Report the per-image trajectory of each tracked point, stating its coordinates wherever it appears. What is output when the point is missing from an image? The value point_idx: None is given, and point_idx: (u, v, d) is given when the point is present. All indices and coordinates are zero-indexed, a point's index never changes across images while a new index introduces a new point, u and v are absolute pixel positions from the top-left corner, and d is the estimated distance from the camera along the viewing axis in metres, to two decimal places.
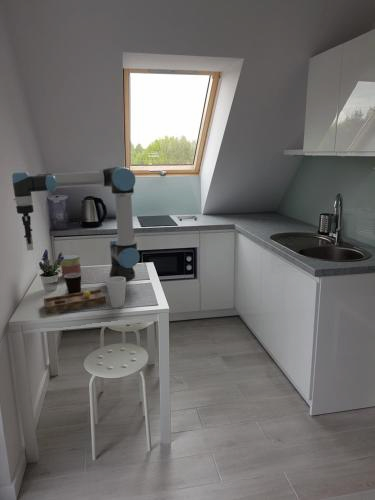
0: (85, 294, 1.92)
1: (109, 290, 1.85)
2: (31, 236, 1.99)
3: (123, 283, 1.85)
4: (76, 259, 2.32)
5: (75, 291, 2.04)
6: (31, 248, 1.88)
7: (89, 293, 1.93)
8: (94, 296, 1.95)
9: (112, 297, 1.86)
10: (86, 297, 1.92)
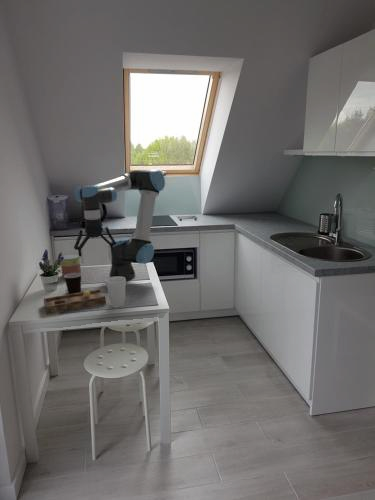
0: (85, 294, 1.92)
1: (109, 290, 1.85)
2: (109, 251, 1.92)
3: (123, 283, 1.85)
4: (76, 259, 2.32)
5: (75, 291, 2.04)
6: (82, 261, 1.89)
7: (89, 293, 1.93)
8: (94, 296, 1.95)
9: (112, 297, 1.86)
10: (86, 297, 1.92)
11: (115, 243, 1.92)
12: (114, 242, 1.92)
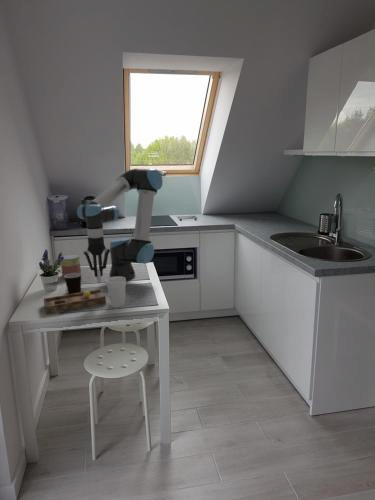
0: (85, 294, 1.92)
1: (109, 290, 1.85)
2: (99, 275, 1.92)
3: (123, 283, 1.85)
4: (76, 259, 2.32)
5: (75, 291, 2.04)
6: (97, 281, 1.93)
7: (89, 293, 1.93)
8: (94, 296, 1.95)
9: (112, 297, 1.86)
10: (86, 297, 1.92)
11: (105, 267, 1.93)
12: (105, 266, 1.93)
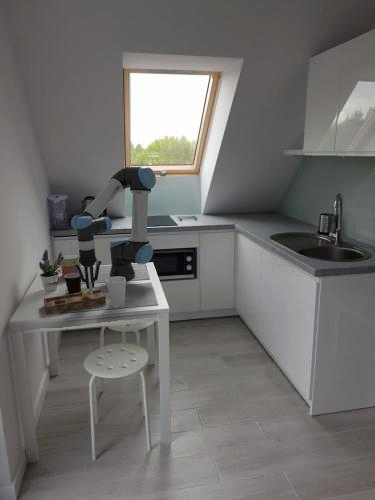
0: (84, 294, 1.92)
1: (109, 290, 1.85)
2: (90, 287, 1.92)
3: (123, 283, 1.85)
4: (76, 259, 2.32)
5: (75, 291, 2.04)
6: (89, 293, 1.93)
7: (88, 293, 1.92)
8: (94, 296, 1.95)
9: (112, 297, 1.86)
10: (86, 297, 1.92)
11: (96, 279, 1.92)
12: (96, 277, 1.92)
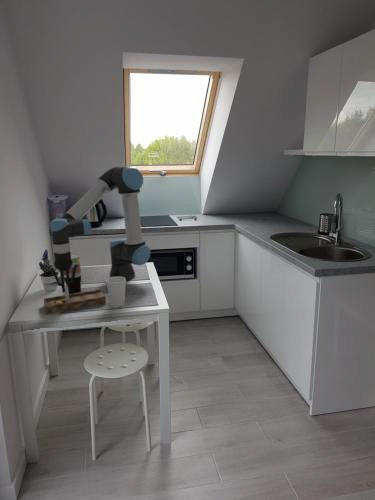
0: None
1: (109, 290, 1.85)
2: (66, 291, 1.88)
3: (123, 283, 1.85)
4: (76, 259, 2.32)
5: (75, 291, 2.04)
6: (65, 297, 1.89)
7: (56, 303, 1.87)
8: (94, 296, 1.95)
9: (112, 297, 1.86)
10: None
11: (72, 283, 1.88)
12: (72, 281, 1.88)
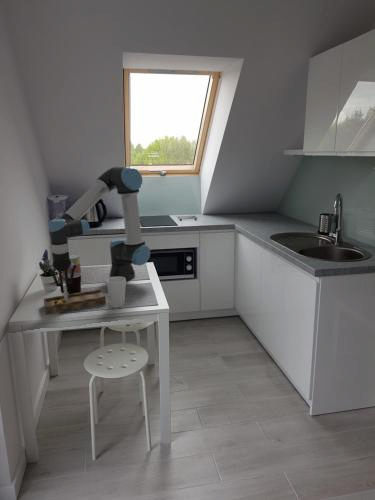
0: None
1: (109, 290, 1.85)
2: (65, 291, 1.88)
3: (123, 283, 1.85)
4: (76, 259, 2.32)
5: (75, 291, 2.04)
6: (64, 297, 1.89)
7: (58, 302, 1.87)
8: (94, 296, 1.95)
9: (112, 297, 1.86)
10: None
11: (71, 283, 1.88)
12: (71, 281, 1.88)
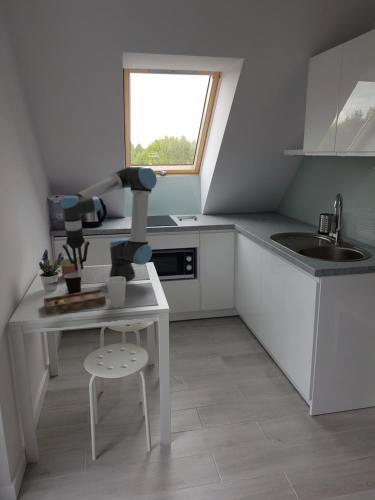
0: None
1: (109, 290, 1.85)
2: (79, 268, 1.88)
3: (123, 283, 1.85)
4: None
5: (75, 291, 2.04)
6: (78, 275, 1.89)
7: (61, 302, 1.87)
8: (94, 296, 1.95)
9: (112, 297, 1.86)
10: None
11: (85, 260, 1.88)
12: (85, 259, 1.88)
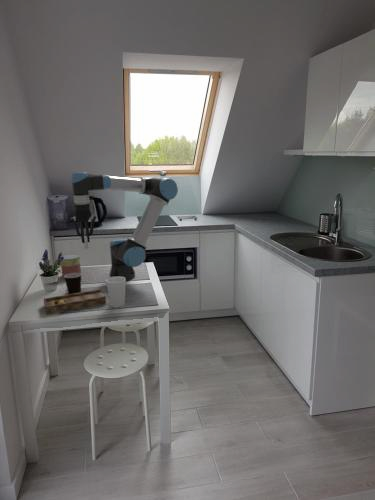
0: None
1: (109, 290, 1.85)
2: (86, 241, 1.99)
3: (123, 283, 1.85)
4: (76, 259, 2.32)
5: (75, 291, 2.04)
6: (85, 247, 2.00)
7: (60, 302, 1.87)
8: (94, 296, 1.95)
9: (112, 297, 1.86)
10: None
11: (91, 233, 1.99)
12: (91, 232, 1.99)
